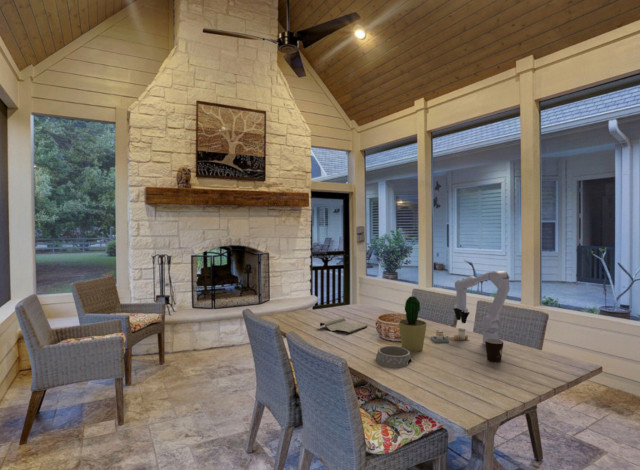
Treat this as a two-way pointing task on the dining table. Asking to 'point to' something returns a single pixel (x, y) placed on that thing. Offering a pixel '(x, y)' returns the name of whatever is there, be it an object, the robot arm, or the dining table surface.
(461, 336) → the cylinder
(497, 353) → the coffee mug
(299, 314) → the dining table surface
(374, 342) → the dining table surface
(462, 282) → the robot arm
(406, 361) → the dog bowl
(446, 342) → the tray
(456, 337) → the fuse holder
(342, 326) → the mat
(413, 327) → the potted cactus
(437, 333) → the cylinder
